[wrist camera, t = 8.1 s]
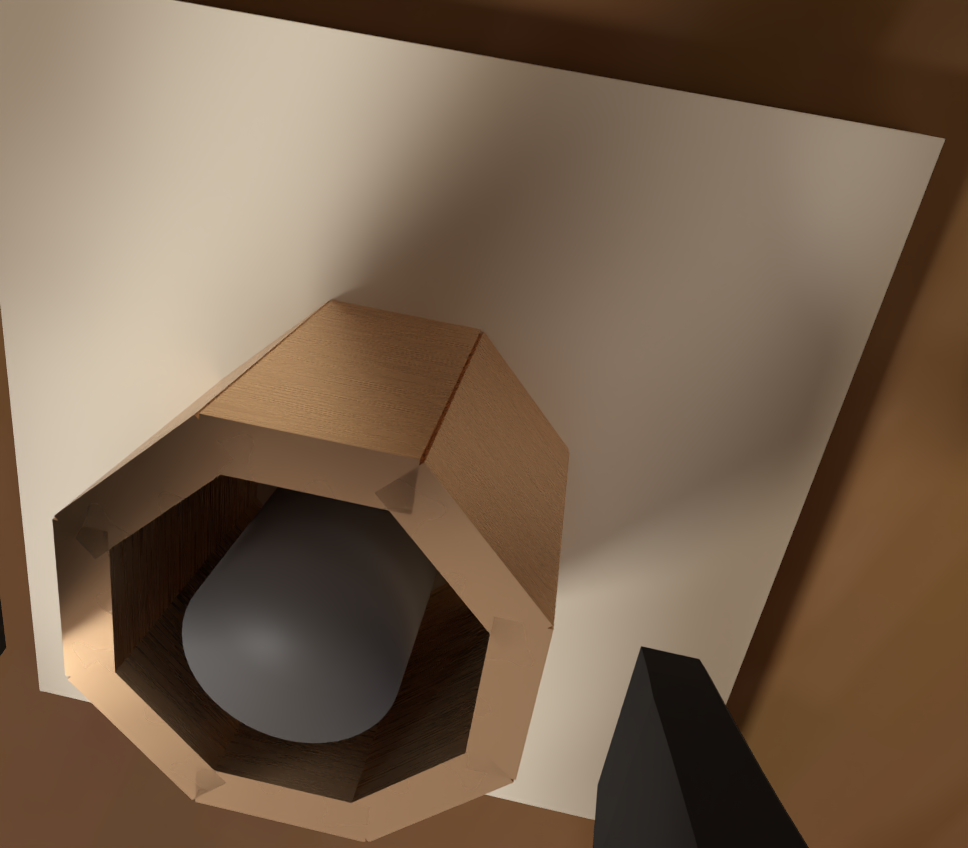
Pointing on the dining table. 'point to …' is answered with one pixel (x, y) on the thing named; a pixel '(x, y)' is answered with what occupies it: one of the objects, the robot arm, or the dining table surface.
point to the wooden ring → (353, 478)
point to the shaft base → (442, 297)
